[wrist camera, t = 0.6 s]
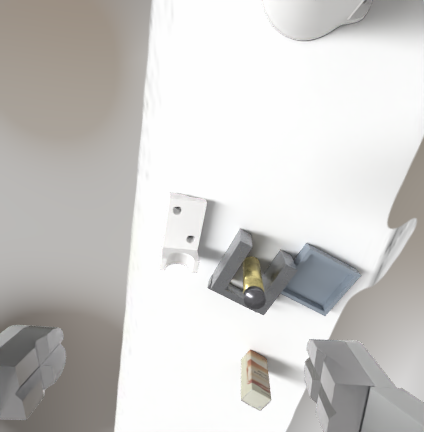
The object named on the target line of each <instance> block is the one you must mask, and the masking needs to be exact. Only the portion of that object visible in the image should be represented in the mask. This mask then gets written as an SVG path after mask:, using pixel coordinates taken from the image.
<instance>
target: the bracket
mask: <svg viewBox="0 0 424 432" xmlns="http://www.w3.org/2000/svg"><path fill="white" fill-rule="evenodd" d="M206 206H207V202H206V199H201V198H194V197H188V195H183V194H177V193H170V196H169V203H168V210H167V217H166V223H165V230H164V237H163V244H162V252H161V263H160V270H165V268H166V267H167V266H168V265H171V264H183V265H186V266H187V267H189V268H190V269H191V270H192V272H194V273H197V270H198V266H199V256H198V251H197V250H198V245H199V241H200V236H201V231H202V226H203V221H204V216H205V211H206ZM174 207H180V208H179V209H175V208H174ZM188 236H193V237H191V238H189V237H188Z"/></svg>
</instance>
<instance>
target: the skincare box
mask: <svg viewBox="0 0 424 432" xmlns="http://www.w3.org/2000/svg"><path fill="white" fill-rule="evenodd" d="M241 401H243V402H245V403H246V404H248V405H250V406H252V407H254V408H256V409H258V410H259V411H261V410H262V409H263V408H264V407H265V406H266V405H267V404H268V403H269V402H270V401H271V394H270V385H269V375H268V366H267V359H266V358H265V357H263V356H261V355H260V354H258V353H256V352H254V351H252V350H250V351H249V352H248V353H247V354H246V355H245V356H244V357H243V358H242V359H241Z"/></svg>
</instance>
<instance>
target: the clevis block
mask: <svg viewBox="0 0 424 432" xmlns="http://www.w3.org/2000/svg"><path fill="white" fill-rule="evenodd" d="M251 249H252V239H251V234H250V233H248V232H246V231H244V230H242V229H240V230H239V231H238V233H237V235H236V236H235V238H234V240H233V241H232V243H231V245H230V246H229V248H228V250H227V251H226V253H225V255H224V256H223V258H222V260H221V261H220V263H219V264H218V266H217V268H216V269H215V271H214V274H213V275H212V276H211V278H210V279H209V283H208V288H209V289H211V290H213V291H215V292H217V293H219V294H221V295H223V296H225V297H227V298H229V299H231V300H233V301H235V302H237V303H239V304H241V305H243V306H245V307H247V306H246V305H245V303H244V291H243V290H241V289H239V288H237V287H235V286H233V285H231V284H229V283H230V281H231V280H232V278H233V276H234V275H235V273H236V272H237V270H238V269H239V267H240V266H241V264H242V263H243V261H244V259H245V258H246V256H247V255H248V253H249V252H250V250H251ZM297 271H298V270H297V267H296V265H295V263H294V261H293V258H292V256H291V255H290V254H288V253H286V252H284V251H282V250H281V249H280V251H279V252H278V254H277V255H276V257H275V258H274V259H273V261H272V262H271V264H270V265H269V267H268V268H267V269H266V271H265V272H264V274H263V275H262V281H263V287H264V293H265V299H266V302H265V305H264V306H263V307H262V308H260V309H251V310H253V311H255V312H258V313H260V314H262V315H264V314H265V313H266V312H267V310H268V309H269V308H270V306H271V305H272V304H273V302H274V301H275V300H276V298H277V297H278V296H279V294H280V293H281V292H282V290H283V289H284V288H285V287H286V285H287V284H288V283H289V281H290V280H291V279H292V277H293V276H294V275H295V273H296V272H297ZM247 308H248V307H247ZM249 309H250V308H249Z"/></svg>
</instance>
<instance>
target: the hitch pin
mask: <svg viewBox="0 0 424 432" xmlns="http://www.w3.org/2000/svg"><path fill="white" fill-rule="evenodd" d="M243 290H244V303H245V305H246V306H247V307H248V308H250V309H260V308H262V307H263V306H264V305H265V302H266V299H265V293H264V287H263V281H262V275H261V269H260V263H259V260H258V259H257V258H255V257H252V256H250V257H247V258H245V259H244V261H243Z"/></svg>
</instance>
